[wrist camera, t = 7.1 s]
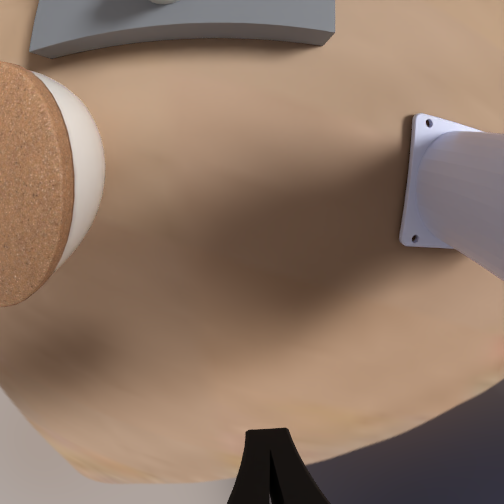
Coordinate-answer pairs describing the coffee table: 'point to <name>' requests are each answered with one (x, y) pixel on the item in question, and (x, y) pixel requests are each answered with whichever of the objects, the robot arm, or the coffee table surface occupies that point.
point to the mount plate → (175, 22)
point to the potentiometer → (163, 1)
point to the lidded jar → (43, 178)
